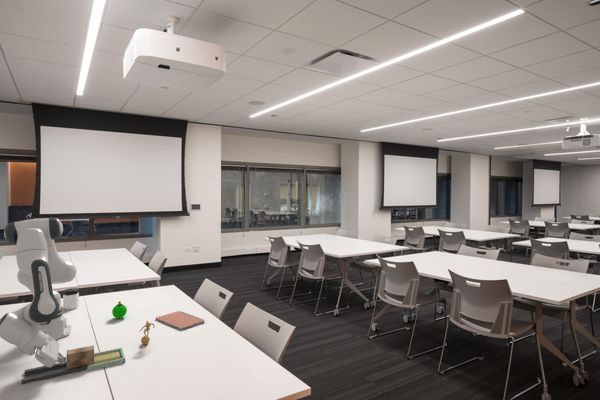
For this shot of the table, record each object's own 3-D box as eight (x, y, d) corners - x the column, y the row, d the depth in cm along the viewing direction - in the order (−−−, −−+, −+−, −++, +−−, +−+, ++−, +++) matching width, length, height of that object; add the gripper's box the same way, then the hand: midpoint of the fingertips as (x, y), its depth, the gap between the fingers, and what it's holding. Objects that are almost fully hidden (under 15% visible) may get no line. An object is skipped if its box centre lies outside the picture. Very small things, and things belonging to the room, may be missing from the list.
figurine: (150, 340, 185) (150, 317, 185) (157, 343, 182) (157, 319, 181) (135, 345, 178) (135, 321, 178) (141, 348, 175) (141, 324, 175)
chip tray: (88, 373, 151) (88, 366, 151) (87, 361, 162) (87, 354, 162) (125, 365, 158) (125, 358, 158) (122, 353, 169) (122, 347, 169)
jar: (64, 310, 231) (64, 292, 231) (61, 308, 237) (61, 289, 237) (80, 307, 237) (80, 289, 237) (77, 305, 243) (77, 287, 243)
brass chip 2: (107, 363, 158) (107, 358, 158) (106, 358, 162) (106, 354, 162) (120, 360, 161) (120, 355, 161) (118, 356, 165) (118, 351, 165)
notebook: (206, 323, 211) (206, 319, 211) (180, 331, 198) (180, 327, 198) (180, 313, 228) (180, 310, 228) (155, 320, 215) (155, 317, 215)
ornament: (123, 320, 215) (123, 303, 214) (109, 320, 214) (109, 303, 214) (129, 315, 223) (129, 299, 222) (115, 315, 222) (115, 299, 222)
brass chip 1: (94, 365, 155) (94, 361, 155) (93, 361, 160) (93, 356, 160) (107, 363, 158) (107, 358, 158) (106, 358, 162) (106, 354, 162)
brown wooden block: (66, 371, 150) (66, 354, 150) (66, 366, 154) (66, 350, 154) (94, 365, 155) (94, 349, 155) (93, 361, 160) (93, 345, 160)
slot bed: (21, 387, 140) (21, 381, 140) (25, 375, 149) (25, 369, 149) (87, 372, 152) (87, 367, 152) (86, 362, 161) (86, 356, 161)
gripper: (40, 345, 139) (70, 364, 144) (44, 329, 156) (71, 346, 162) (26, 360, 137) (57, 378, 142) (31, 341, 154) (59, 358, 159)
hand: (64, 361), depth 152 cm, fingers closed, pressing on brown wooden block
